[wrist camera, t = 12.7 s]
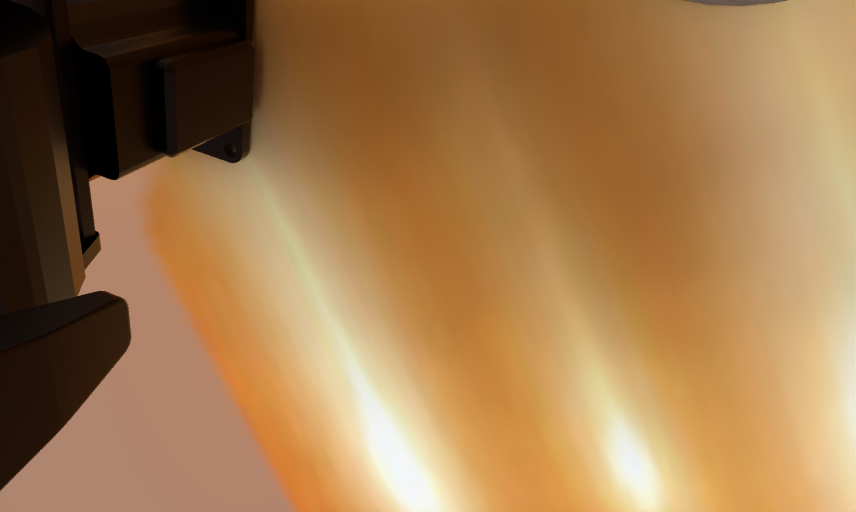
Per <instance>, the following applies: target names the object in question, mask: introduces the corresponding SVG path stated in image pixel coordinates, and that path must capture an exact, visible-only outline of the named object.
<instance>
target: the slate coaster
mask: <svg viewBox="0 0 856 512" xmlns="http://www.w3.org/2000/svg"><path fill="white" fill-rule="evenodd" d="M687 1H692V2H698V3H703V4H711V5H735V6H744V5H755V4H767V3H776V2H781V1H786V0H687Z"/></svg>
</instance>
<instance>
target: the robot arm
mask: <svg viewBox="0 0 856 512" xmlns="http://www.w3.org/2000/svg"><path fill="white" fill-rule="evenodd" d="M253 6H254V0H0V491H1V490H2V489H3V488H4V487H5V486H6V485H7V484H8V483H9V481H10V480H11V479H12V478H14V477H15V475H16V474H17V473H18V472H20V470H22V469H23V468H24V466H26V464H27V463H28V462H29V461H30V460H31V459H32V458H33V457H34V456H35V455H36V454H37V453H38V452H39V451H40V450H41V449H42V448H43V447H44V446H45V445H46V444H47V443H48V442H49V441H50V440H51V439H52V438H53V437H54V436H55V435H56V434H57V433H58V432H59V431H60V430H61V429H62V428H63V427H64V425H65V424H66V423H67V422H68V421H69V420H70V419H71V418H72V416H73V415H74V414H75V413H76V412H77V410H78V409H79V408H80V407H81V406H82V404H83V403H84V402H85V401H86V400H87V398H88V397H89V396H90V395H91V393H92V392H93V391H94V390H95V389H96V387H97V386H98V385H99V384H100V383H101V381H102V380H103V379H104V378H105V377H106V375H107V374H108V373H109V372H110V370H111V369H112V368H113V367H114V365H115V364H116V363H117V362H118V361H119V360H120V358H121V357H122V356H123V355H124V353H125V352H126V351H127V349H128V347H129V345H130V341H131V328H130V319H129V307H128V304H127V302H126V301H125V299H123V298H121V297H119V296H116V295H114V294H111V293H109V292H106V291H97V292H93V293H89V294H85V295H81V296H78V294H79V291H80V289H81V286H82V284H83V282H84V279H85V269H86V268H87V266H88V265H89V264H90V263H91V261H92V260H93V259H94V258H95V256H96V255H97V254H98V253H99V252H100V250H101V244H100V236H99V233H98V232H97V231H95V227H94V218H93V210H92V202H91V194H90V186H89V181H91V180H94V179H95V178H98V177H100V176H103V177H105V178H108V179H111V180H117V179H119V178H121V177H123V176H125V175H127V174H130V173H132V172H134V171H136V170H138V169H140V168H142V167H144V166H146V165H149V164H151V163H153V162H155V161H157V160H159V159H161V158H163V157H166V156H168V157H176V156H178V155H180V154H182V153H184V152H186V151H188V150H190V149H192V150H195V151H198V152H201V153H204V154H207V155H210V156H213V157H216V158H219V159H221V160H224V161H227V162H230V163H236V162H239V161H240V160H242V159H244V158H245V157H246V156H247V155H248V150H249V121H250V119H251V118H252V108H253V81H254V54H255V50H254V47H253V44H252V35H253ZM230 144H232V145H234V147H235V148H236V152H234V151H233V150H232V148H231V145H230Z"/></svg>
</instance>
